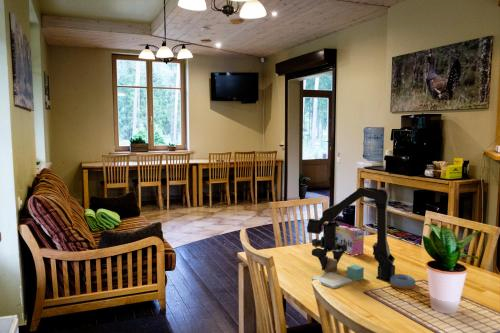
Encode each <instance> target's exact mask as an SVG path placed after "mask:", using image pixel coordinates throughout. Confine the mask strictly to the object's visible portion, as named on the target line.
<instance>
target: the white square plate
mask: <svg viewBox="0 0 500 333" xmlns="http://www.w3.org/2000/svg"><path fill="white" fill-rule="evenodd" d="M312 280H319V281H320V282H321V284H320V285H323V286H324V287H328V288H331V289H333V290H334V289H337V288H339V287H342V286H344V285H347V284H350V283H352V282H353V280H352V279H349V278H347V277H345V276H343V275H339V274H337V273H334V272H326V273H324V274H321V275H318V276H315V277H312V278H311V281H312Z"/></svg>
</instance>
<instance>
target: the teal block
mask: <svg viewBox="0 0 500 333" xmlns="http://www.w3.org/2000/svg"><path fill="white" fill-rule="evenodd" d="M346 269H347V270H346V278H348V279H351V280H352V281H354V282H357V281H361V280H362V279H364V278H365V276H364V270H365V267H364V266H361V265H356V264H353V265H352V264H351V265H349V266H347V267H346Z"/></svg>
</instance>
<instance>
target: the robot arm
mask: <svg viewBox="0 0 500 333" xmlns="http://www.w3.org/2000/svg"><path fill="white" fill-rule="evenodd" d="M390 195H391V193H390V190H388V188H386V187H378V188H376V187H375V188H374V187H365V186H360V187H359V188H357V189H356V190H355V191H354V192H353V193H351V194H350V195H348V196H347V197H345V198H344V199H342V200H341V201H340V202H339V203H336V204H334V205H332V206H329V207H328V208H327V209H324V210H323V211H322V213H321V215H322V216H321V217H320V219H318V218H317V219H316V218H308V223H307V226H306V232H307V233H309V234H317V235H321V233H323V236H321V237H320V239H317V238H313V239H311V245H312V247H314V248H313V249H312V250H311V256H313V257H316V258H317V259H318V260H319V263H320V266H321V270H322V269H323V270H325V268H326V264H327V259H328V258H329V256H327V254H328V253H331V252H332V254H333V257H332V259H335V260H337V265H338V264H339V261H340V260H341V258H342V256H343V255H344V254H345V253H344V251H347V246H346V244H342V243H339V242H338V243H336V240H338V237H336V227H339V226H340V225H341V224H340V223H341V222H340V221H338V220H335V219H336V218H337V217H339V215H340V214H341V213H342V212H343V211H344V210H345V209H347V208H348V207H349V206H351V205H352V204H354V203H355V202H356V201H358V200H359V199H362V197H363V198H367V199H370V200H374V205H375V206H376V231H377V232H376V236H377V237H376V240H377V241H376V242H374V243H373V245H372V252H373V253H372V256H373V257H374V259H375V261H377V263H378V266H377V276H376V277H375V278H376V279H379V280H382V281H384V282H388V283H389V282H390V278H391V276H393V275H396V265H394V262H395V261H396V258H395V256H393V255H392V253H391V249H390V246H389V243H388V231H387V230H388V224H387V223H388V222H387V221H388V219H387V218H388V217H387V216H388V214H387V213H388V212H387V209H388V205H389V200H390V197H391V196H390ZM333 221H335V222H333ZM339 222H340V223H339ZM323 270H322V271H323Z"/></svg>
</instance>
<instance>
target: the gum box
mask: <svg viewBox="0 0 500 333" xmlns="http://www.w3.org/2000/svg"><path fill="white" fill-rule="evenodd" d="M335 221H336V220H332V222H335ZM338 222H339V223H340V224H341V225H340V226H339V227H336V237H338V240H336V243H338V242H339V243H342V244H346V246H347V251H344V252H347V253H349V254H351V255H355V254H360V253H363V254H364V244H365V243H364V240H365V239H364V238H365V237H364V235H365V229H364V228H362V227H358V226H354V225H350V224H347V223H344V222H340V221H338ZM351 255H350V256H351Z"/></svg>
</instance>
